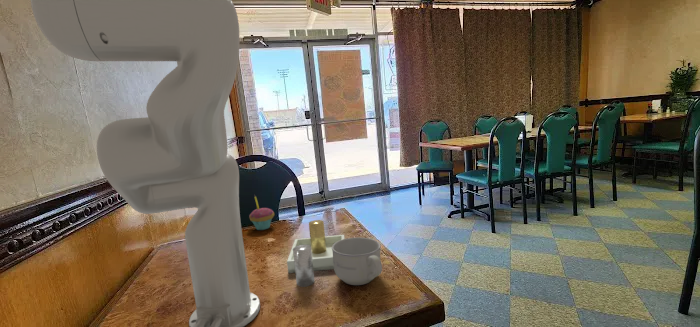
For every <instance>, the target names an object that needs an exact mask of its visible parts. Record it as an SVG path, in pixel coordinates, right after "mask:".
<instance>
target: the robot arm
mask: <svg viewBox="0 0 700 327" xmlns="http://www.w3.org/2000/svg"><path fill="white" fill-rule="evenodd" d="M233 2H234V1H233V0H30V5H31V6H30V7H31V10H32V14H33V17H34V20H35V23H36V24H37V26H38V28H39V29H40V31H41V33H42V34H43V36H44V37H45V38H46V40H47V41H48V42H49V43H50V44H51V45H52V46H53V47H54V48H55V49H57V50H58V51H59V52H61V53H63V54H64V55H67V56H69V57H71V58H73V59H77V60H81V61H86V62H87V61H88V62H176V65H177V66H175V68H173V69H172V70H171V71H169V72H168V74H167V73H166V75H165V76H164V77H163V79H161V80H160V81H159V83H158V84H157V85H156V87H155V88H154V90H153V91H152V92H151V94H150V96H149V97H148V99H147V102H146V106H145V107H146V114H147V117H134V118H123V119H119V120H115V121H111V122H110V123H108V124H105V126H104V127H103V128H102V129H101V131H100V133H99V134H98V136H97V139H96V140H97V141H96V157H97V160H98V164H99V167H100V170H101V171H102V173H103V175H104V178H105V179H106V180H107V181H108V183H109V184H110V186H111V187H112V188H113V189H114V190H115V191H116V192H117V194H118V195H119V196H121V197H122V199H123V200H124V201H125V202H126V203H127V204H128V205H129V206H130V208H132V209H133V210H135V211H136V212H137V213H139V214H146V215H149V214H151V215H152V214H153V215H154V214H159V213H165V212H166V213H167V212H172V211H177V210H183V209H184V210H185V209H194V208H196V209H197V211H196V212H195V214H194V215H193V216H192V217H191V219H190V220H189V222H188V224H187V226H186V229H185V230H184V231H185V232H184V240H185V246H186V247H185V248H186V252H187V259H188V264H189V265H188V266H189V271H190V276H191V283H192V288H193V289H192V290H193V295H194V296H193V297H194V301H195V307H196V309H195V310H194V311H193V312H192V314H191V315H190V317H189V319H188V320H189V321H188V325H189V327H245V326H247V325H248V324H249V323H250V322H252V321H254V319H255V318H256V316H257V315H258V314H259V312H260V309H261V301H260V298H259V296H258V295H256V294H254V293H253V292H251V290H250V282H249V275H248V268H247V261H246V252H245V246H244V245H245V244H244V237H243V231H242V223H241V214H240V213H241V211H240V170H239V164H238V162H237V160H236V159H235V158H234V157H233V156H232V155H231V154H229V153H228V138H227V137H228V136H227V129H226V119H225V108H226V105H227V102H228V99H229V97H230V95H231V91H232V89H233V86H234V84H235V80H236V75H237V71H238V66H239V58H240V25H239V17H238V14H237V13H238V12H237V9H236V7H235V3H233Z"/></svg>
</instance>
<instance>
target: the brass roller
mask: <svg viewBox="0 0 700 327" xmlns="http://www.w3.org/2000/svg"><path fill="white" fill-rule="evenodd" d="M324 222H325V221H324V220H323V219H315V220H311V221H309V222H308V231H309V238H310V240H311V250H312V253H314V254H321V253H324V252H325V251H326V241H325V236H326V235H325V234H326V231H325V223H324Z"/></svg>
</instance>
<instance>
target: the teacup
mask: <svg viewBox="0 0 700 327" xmlns="http://www.w3.org/2000/svg"><path fill="white" fill-rule="evenodd" d="M381 247H382V246H381V243H380V242H379V241H378V240H376V239H373V238H369V237H359V236H357V237H356V236H355V237H348V238H344V239H343V240H339V241H337V242H335V243H334V244H333V245H332V251H333V265H334V269H333V270H334V273H335V275H336V276H337V277H338V278H339V280H341V281H342V282H344V283H345V284H347V285H350V286H362V285H367V284H369V283H370V282H371V281H373V280H374V279H375V278H377V277H378V276H380V275H381V274H382V271H383V264H382V261H381Z"/></svg>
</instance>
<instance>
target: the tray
mask: <svg viewBox="0 0 700 327" xmlns="http://www.w3.org/2000/svg"><path fill="white" fill-rule="evenodd" d="M343 239H345V234H338V235H337V234H336V235H327V236H326V235H325V241H326V251H325V252H324V253H321V254H314V253H312V261H313V271H314V272H315V271H326V270H334V265H333V251H332V245H333V244H334V243H335V242H337V241H339V240H343ZM299 245H310V246H311V240H310V237H306V238H305V237H304V238H295V239H294V240H293V244H292V247H291V250H290V253H289V255H288V258H287V260H286V265H287V273H288V274H292V273H295V264H294V255H293V248H294V247H296V246H299ZM311 252H312V250H311ZM295 274H296V273H295Z"/></svg>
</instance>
